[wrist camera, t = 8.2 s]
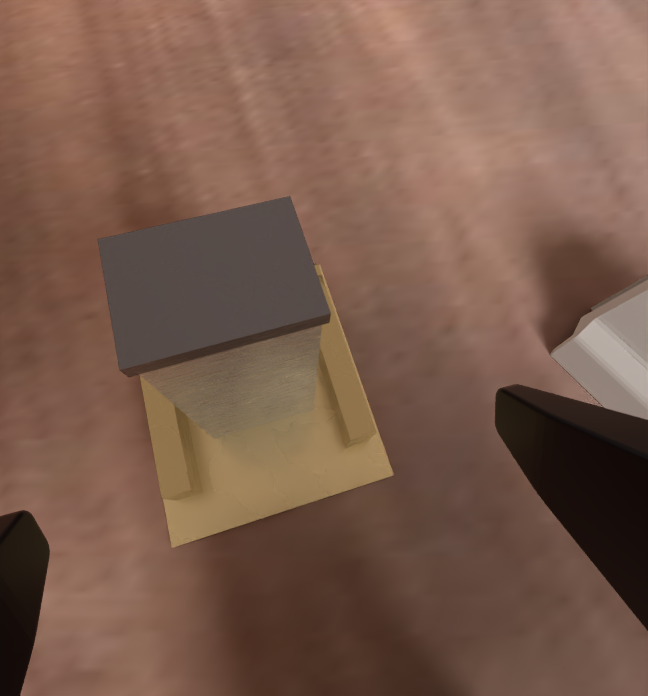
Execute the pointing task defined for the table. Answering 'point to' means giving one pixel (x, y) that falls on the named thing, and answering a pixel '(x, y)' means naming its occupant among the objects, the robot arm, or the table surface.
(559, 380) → the table surface
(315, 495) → the strike pocket
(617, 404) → the white rounded housing
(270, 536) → the table surface
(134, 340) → the bar
